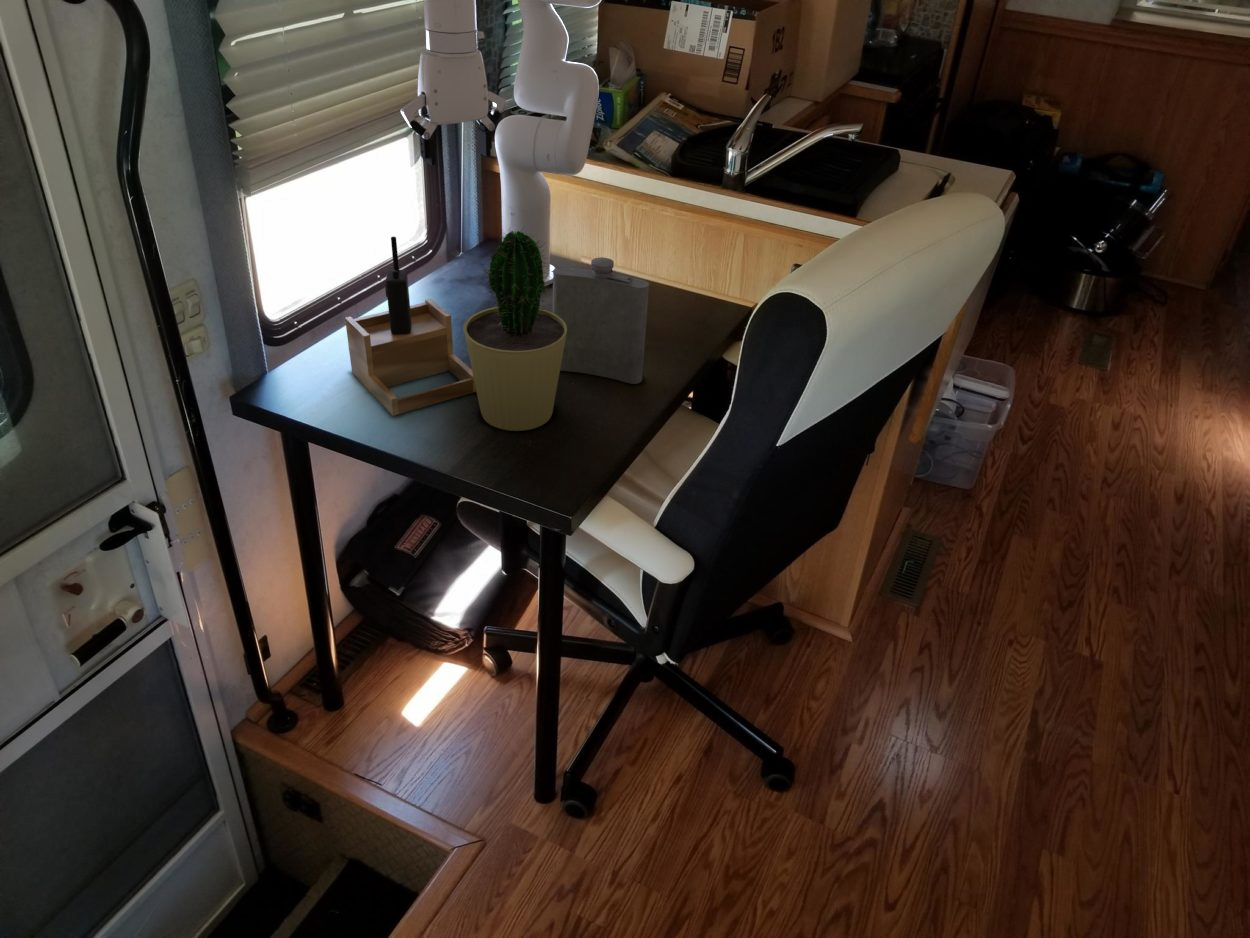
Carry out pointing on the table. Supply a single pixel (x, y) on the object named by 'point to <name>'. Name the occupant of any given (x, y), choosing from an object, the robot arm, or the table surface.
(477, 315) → the potted cactus
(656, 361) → the table surface
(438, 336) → the step shelf
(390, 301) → the walkie-talkie
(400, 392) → the table surface
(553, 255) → the table surface
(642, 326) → the hip flask
